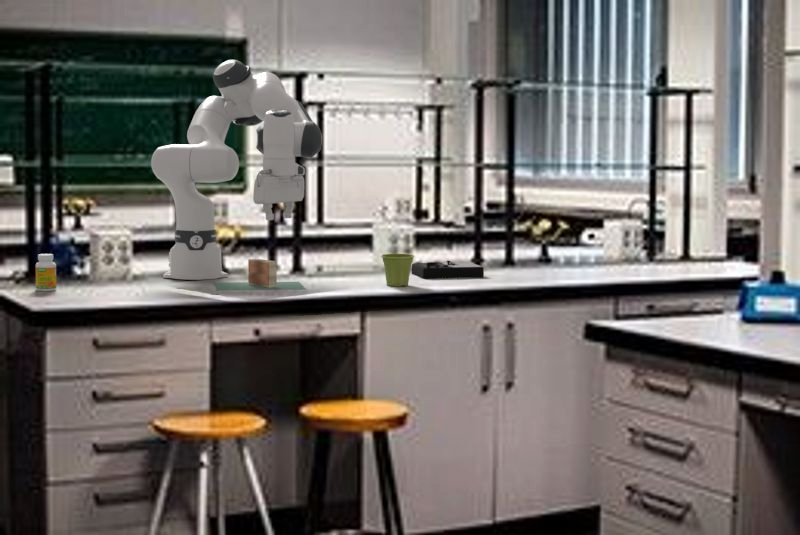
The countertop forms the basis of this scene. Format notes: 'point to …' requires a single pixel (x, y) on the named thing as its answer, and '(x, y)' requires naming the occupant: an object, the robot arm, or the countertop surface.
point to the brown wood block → (262, 272)
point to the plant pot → (397, 268)
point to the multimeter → (447, 270)
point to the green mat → (253, 287)
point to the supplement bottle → (45, 273)
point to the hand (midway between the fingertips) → (278, 219)
